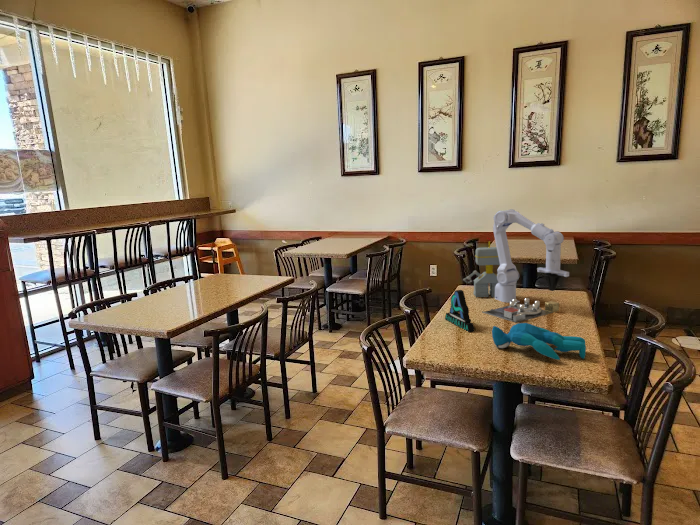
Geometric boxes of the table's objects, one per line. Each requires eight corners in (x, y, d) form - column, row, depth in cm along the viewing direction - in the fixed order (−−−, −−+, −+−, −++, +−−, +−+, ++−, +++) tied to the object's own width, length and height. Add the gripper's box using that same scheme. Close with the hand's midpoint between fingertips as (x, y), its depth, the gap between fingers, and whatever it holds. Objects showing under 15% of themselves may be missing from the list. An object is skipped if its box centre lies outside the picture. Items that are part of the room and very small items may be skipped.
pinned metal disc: (500, 310, 204) (500, 301, 203) (522, 304, 211) (522, 296, 210) (526, 317, 192) (526, 308, 191) (548, 311, 199) (549, 302, 198)
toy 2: (583, 350, 161) (494, 338, 173) (585, 321, 158) (496, 311, 171) (585, 371, 144) (487, 356, 156) (588, 339, 142) (488, 326, 154)
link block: (544, 311, 203) (545, 302, 202) (550, 309, 205) (551, 300, 204) (552, 313, 199) (552, 304, 199) (558, 311, 201) (558, 302, 201)
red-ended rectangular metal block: (503, 318, 193) (504, 308, 192) (510, 316, 195) (510, 307, 194) (511, 320, 190) (511, 311, 189) (518, 318, 192) (518, 309, 191)
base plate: (481, 314, 203) (481, 306, 202) (518, 305, 214) (518, 298, 213) (516, 324, 186) (516, 316, 186) (553, 314, 197) (553, 306, 197)
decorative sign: (474, 331, 181) (474, 295, 178) (468, 332, 180) (468, 295, 177) (450, 319, 199) (449, 285, 196) (444, 319, 198) (444, 286, 195)
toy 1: (513, 293, 235) (513, 235, 230) (517, 297, 227) (518, 237, 222) (461, 294, 238) (461, 237, 233) (464, 298, 230) (463, 239, 224)
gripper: (532, 259, 202) (532, 288, 205) (562, 263, 190) (561, 295, 192) (543, 257, 206) (542, 286, 208) (572, 261, 193) (571, 292, 195)
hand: (552, 290), depth 200 cm, fingers closed
